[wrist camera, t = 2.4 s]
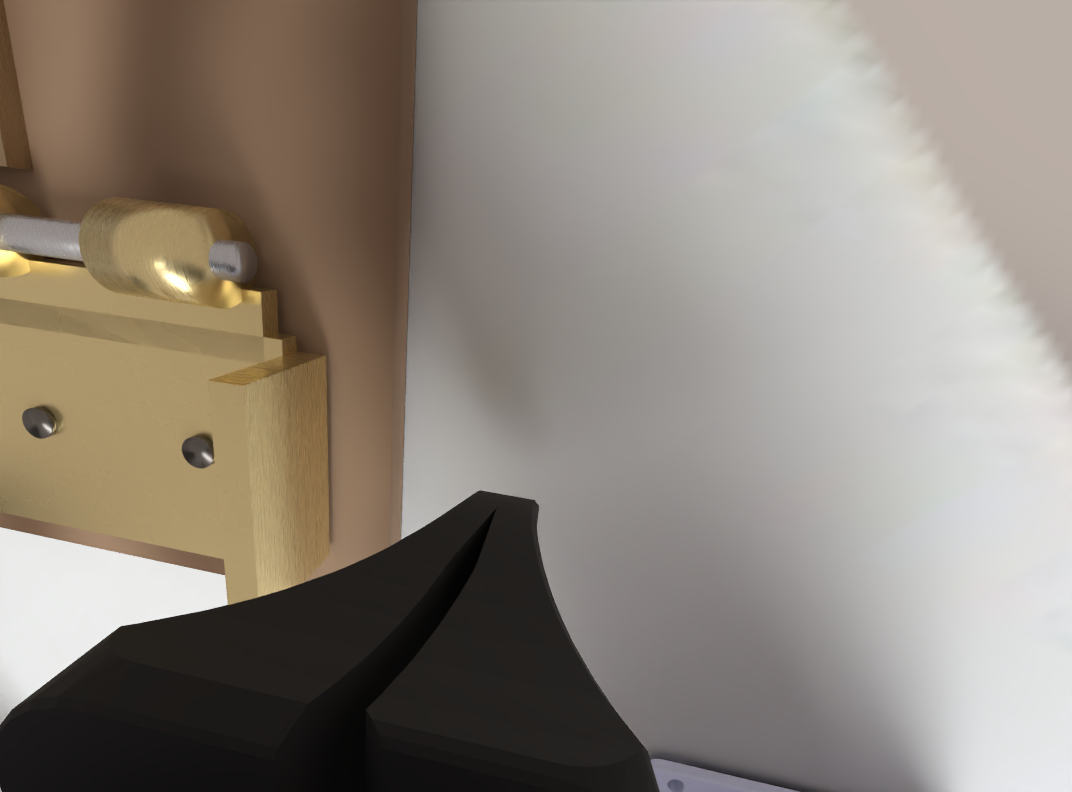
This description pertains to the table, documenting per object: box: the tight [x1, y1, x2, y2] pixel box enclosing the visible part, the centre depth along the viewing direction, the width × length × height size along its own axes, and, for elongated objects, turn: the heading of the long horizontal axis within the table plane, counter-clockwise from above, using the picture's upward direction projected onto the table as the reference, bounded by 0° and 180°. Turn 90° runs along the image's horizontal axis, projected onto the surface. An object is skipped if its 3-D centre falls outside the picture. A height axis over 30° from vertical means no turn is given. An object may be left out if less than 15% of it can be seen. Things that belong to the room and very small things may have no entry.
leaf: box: [0, 184, 330, 605], centre depth 13 cm, size 15×10×3 cm, turn 84°
